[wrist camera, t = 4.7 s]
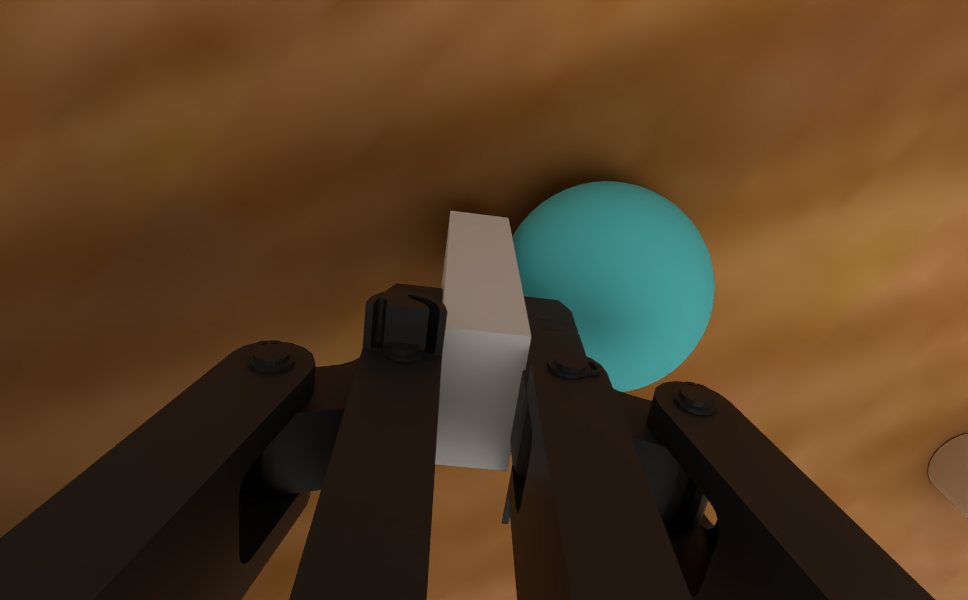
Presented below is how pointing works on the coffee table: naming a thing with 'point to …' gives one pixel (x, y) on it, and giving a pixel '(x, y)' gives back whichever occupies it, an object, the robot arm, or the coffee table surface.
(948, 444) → the post
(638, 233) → the ball
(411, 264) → the coffee table surface
